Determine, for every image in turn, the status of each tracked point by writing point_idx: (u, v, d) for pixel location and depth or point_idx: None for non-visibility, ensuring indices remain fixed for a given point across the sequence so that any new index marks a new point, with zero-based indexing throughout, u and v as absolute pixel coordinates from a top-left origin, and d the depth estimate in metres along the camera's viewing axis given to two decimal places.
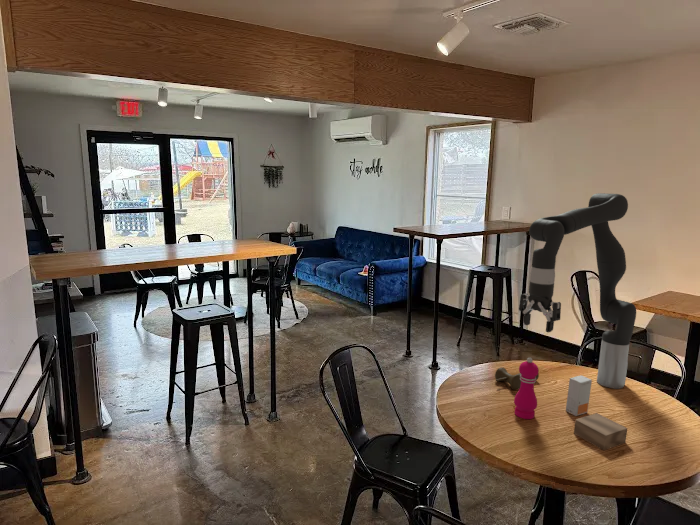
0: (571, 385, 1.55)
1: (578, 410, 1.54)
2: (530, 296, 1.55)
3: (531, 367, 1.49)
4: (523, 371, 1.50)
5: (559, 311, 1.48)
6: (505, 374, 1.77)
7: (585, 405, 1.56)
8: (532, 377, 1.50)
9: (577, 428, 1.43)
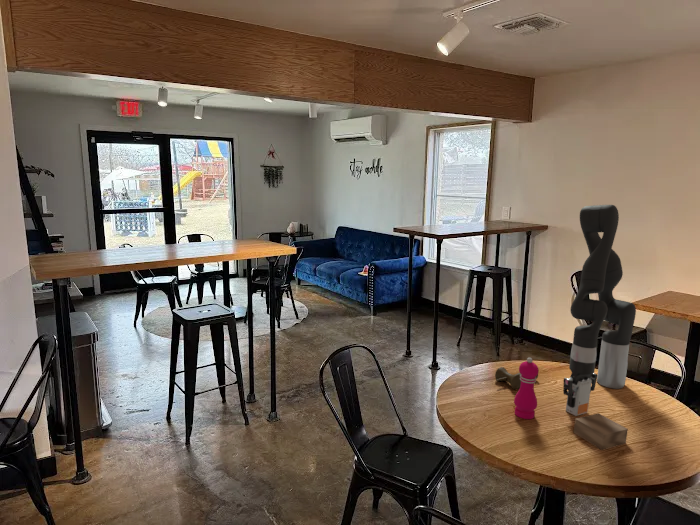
0: None
1: (578, 410, 1.54)
2: (577, 377, 1.53)
3: (531, 367, 1.49)
4: (523, 371, 1.50)
5: None
6: (505, 374, 1.78)
7: (585, 405, 1.56)
8: (532, 377, 1.50)
9: (577, 427, 1.43)
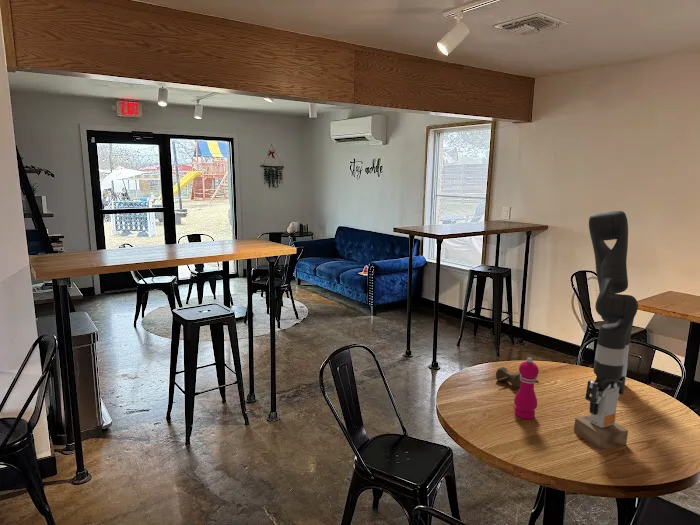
0: None
1: (604, 421, 1.38)
2: (603, 381, 1.36)
3: (531, 367, 1.49)
4: (523, 371, 1.50)
5: None
6: (506, 373, 1.78)
7: (612, 416, 1.39)
8: (532, 377, 1.50)
9: (576, 426, 1.44)
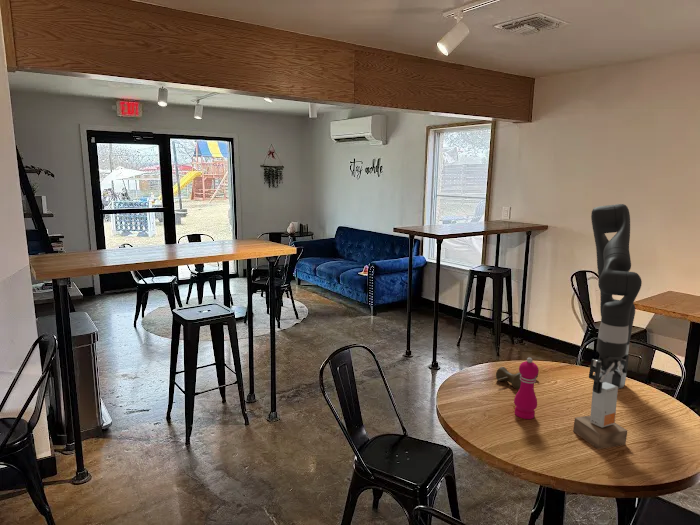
0: (595, 393, 1.39)
1: (604, 421, 1.38)
2: (607, 359, 1.35)
3: (531, 367, 1.49)
4: (523, 371, 1.50)
5: None
6: (506, 373, 1.78)
7: (612, 415, 1.39)
8: (532, 377, 1.50)
9: (576, 426, 1.44)
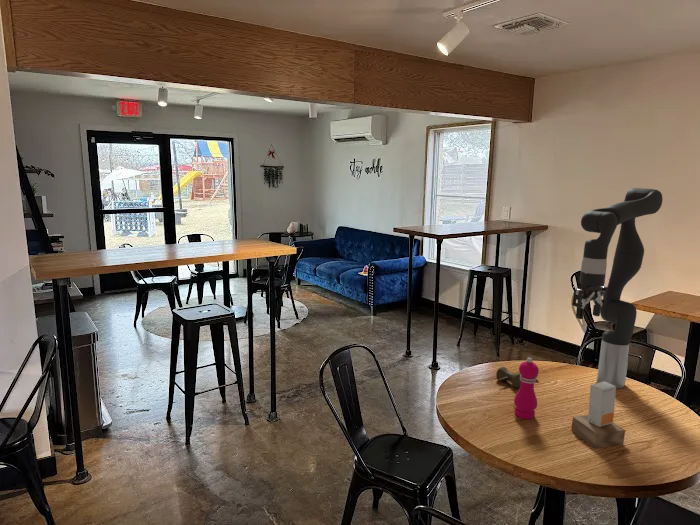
0: (592, 392, 1.40)
1: (602, 420, 1.38)
2: (588, 289, 1.55)
3: (531, 367, 1.49)
4: (523, 371, 1.50)
5: None
6: (507, 373, 1.78)
7: (610, 415, 1.39)
8: (532, 377, 1.50)
9: (574, 425, 1.44)
